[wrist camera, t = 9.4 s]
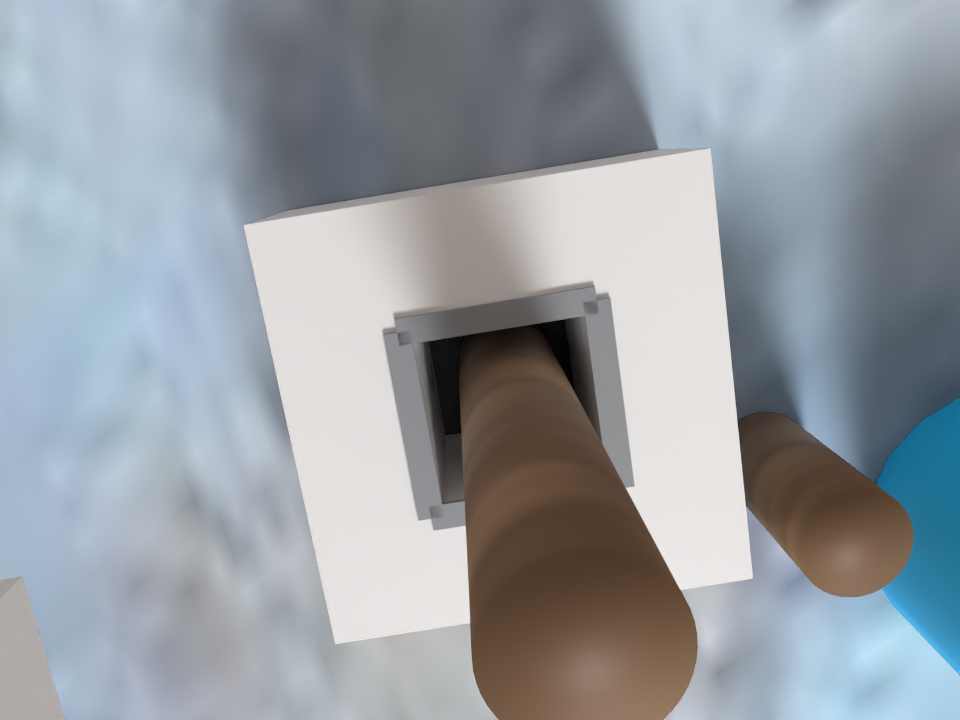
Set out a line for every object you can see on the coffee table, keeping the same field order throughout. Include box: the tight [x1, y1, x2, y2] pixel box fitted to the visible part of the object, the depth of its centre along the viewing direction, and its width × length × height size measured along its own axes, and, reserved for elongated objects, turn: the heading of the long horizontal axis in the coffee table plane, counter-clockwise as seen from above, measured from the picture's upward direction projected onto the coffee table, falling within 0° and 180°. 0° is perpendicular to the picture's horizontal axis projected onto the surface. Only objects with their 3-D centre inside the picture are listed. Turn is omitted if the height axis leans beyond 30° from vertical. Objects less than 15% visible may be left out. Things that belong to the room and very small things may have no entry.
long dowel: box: [458, 324, 698, 720], centre depth 18 cm, size 3×3×15 cm
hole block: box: [243, 148, 753, 644], centre depth 22 cm, size 10×10×5 cm
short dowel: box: [738, 412, 914, 597], centre depth 23 cm, size 3×3×6 cm
